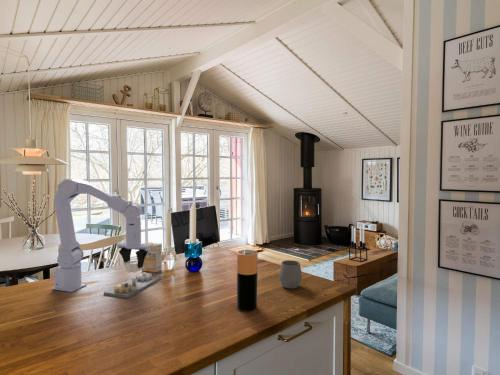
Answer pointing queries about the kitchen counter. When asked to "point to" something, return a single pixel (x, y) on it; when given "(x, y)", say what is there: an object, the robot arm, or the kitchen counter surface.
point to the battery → (247, 280)
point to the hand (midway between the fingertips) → (133, 266)
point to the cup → (290, 274)
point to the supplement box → (153, 258)
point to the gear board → (132, 285)
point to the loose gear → (132, 266)
